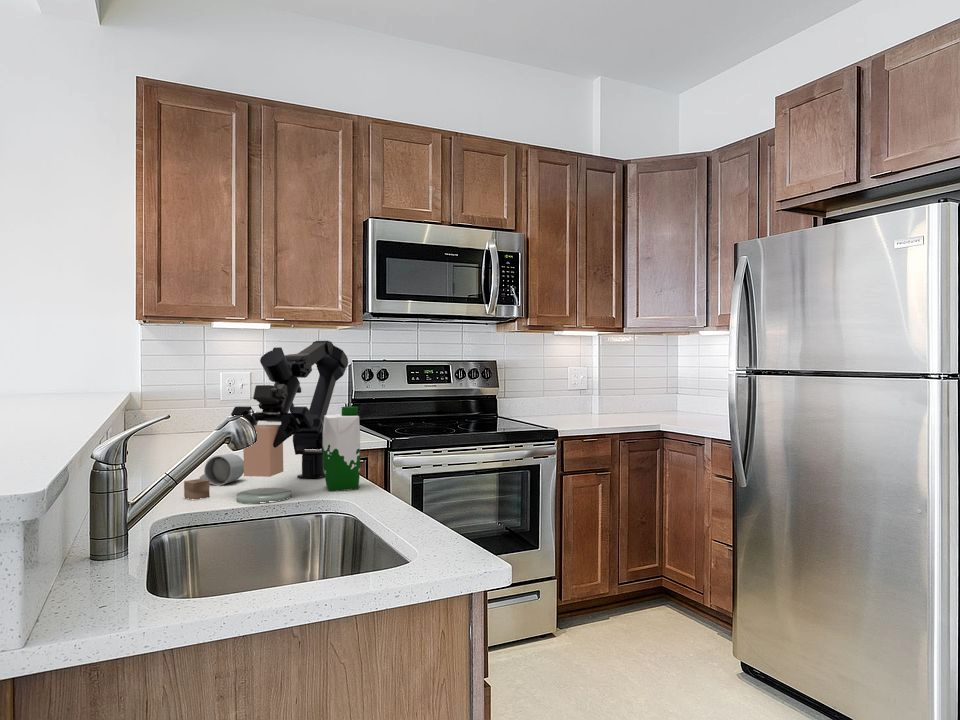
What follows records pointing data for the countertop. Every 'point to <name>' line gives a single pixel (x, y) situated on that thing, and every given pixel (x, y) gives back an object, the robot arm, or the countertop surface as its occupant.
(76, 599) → the countertop surface
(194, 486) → the block
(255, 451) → the pinkish brown brick
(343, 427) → the milk carton
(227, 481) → the ceramic mug
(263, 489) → the dish
